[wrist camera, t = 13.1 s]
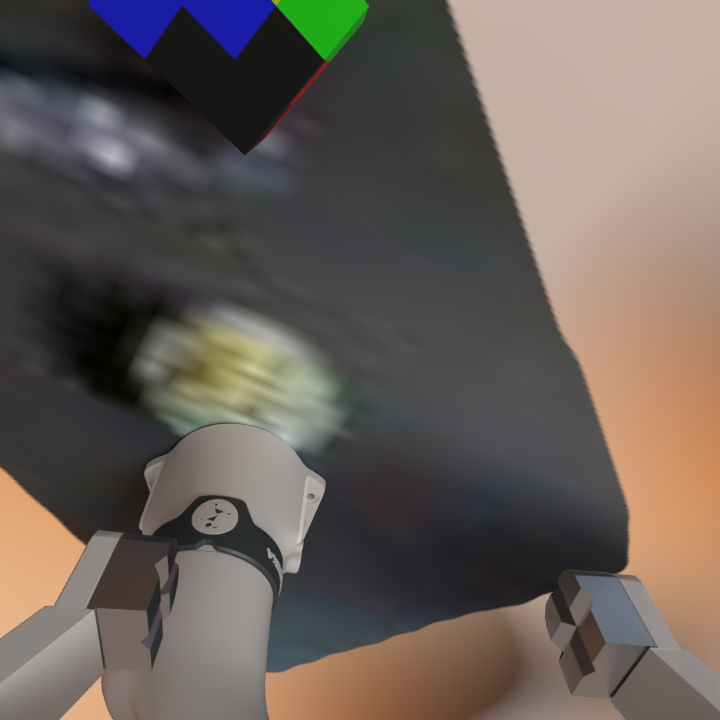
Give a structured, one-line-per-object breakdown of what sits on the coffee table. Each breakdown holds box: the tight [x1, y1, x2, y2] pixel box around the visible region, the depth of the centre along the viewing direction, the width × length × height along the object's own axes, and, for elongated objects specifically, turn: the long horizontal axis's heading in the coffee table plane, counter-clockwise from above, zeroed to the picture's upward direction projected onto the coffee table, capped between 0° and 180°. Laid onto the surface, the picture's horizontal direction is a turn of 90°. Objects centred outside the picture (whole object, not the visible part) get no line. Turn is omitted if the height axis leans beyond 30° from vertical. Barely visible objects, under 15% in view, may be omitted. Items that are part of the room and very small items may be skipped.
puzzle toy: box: [88, 0, 369, 155], centre depth 30 cm, size 10×10×10 cm
